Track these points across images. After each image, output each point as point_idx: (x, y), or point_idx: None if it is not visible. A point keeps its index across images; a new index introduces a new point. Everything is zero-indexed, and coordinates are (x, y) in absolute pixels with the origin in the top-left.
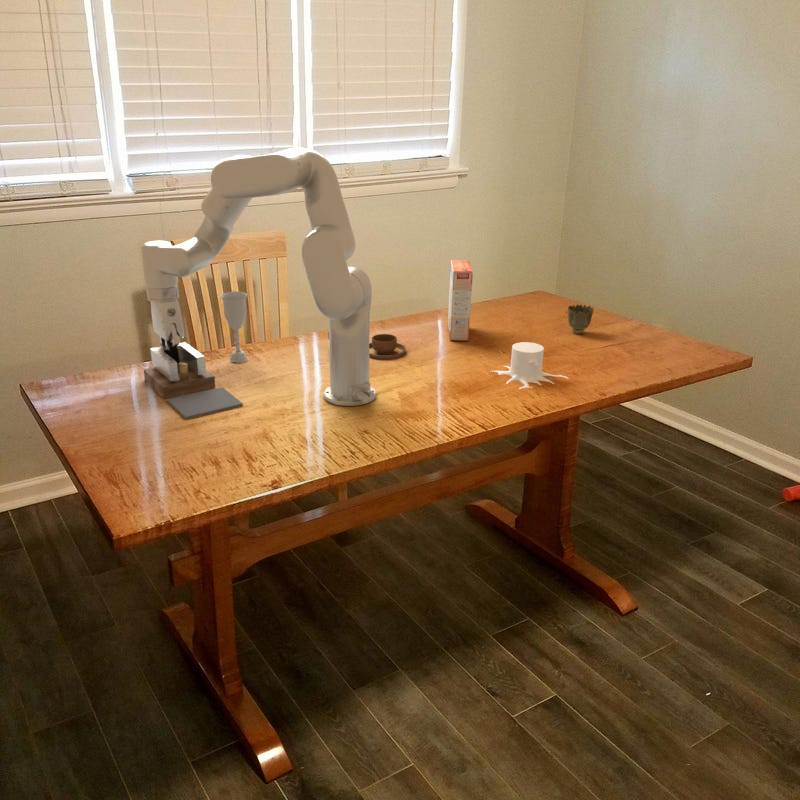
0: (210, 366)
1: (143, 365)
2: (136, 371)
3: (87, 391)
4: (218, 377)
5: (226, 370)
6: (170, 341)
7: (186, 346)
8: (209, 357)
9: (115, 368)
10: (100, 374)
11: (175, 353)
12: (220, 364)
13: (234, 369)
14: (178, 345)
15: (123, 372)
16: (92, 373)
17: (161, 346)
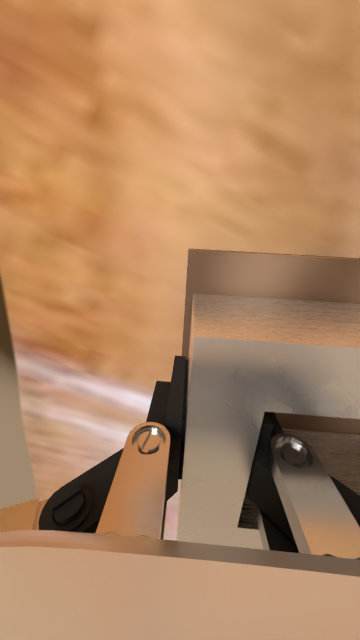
0: (187, 149)
1: (35, 381)
2: (83, 416)
3: (164, 535)
4: (351, 189)
5: (300, 92)
6: (167, 471)
7: (338, 383)
8: (50, 80)
9: (28, 448)
10: (60, 487)
11: (278, 427)
12: (192, 75)
13: (322, 30)
14: (251, 420)
15: (73, 444)
16: (43, 496)
17: (180, 505)
